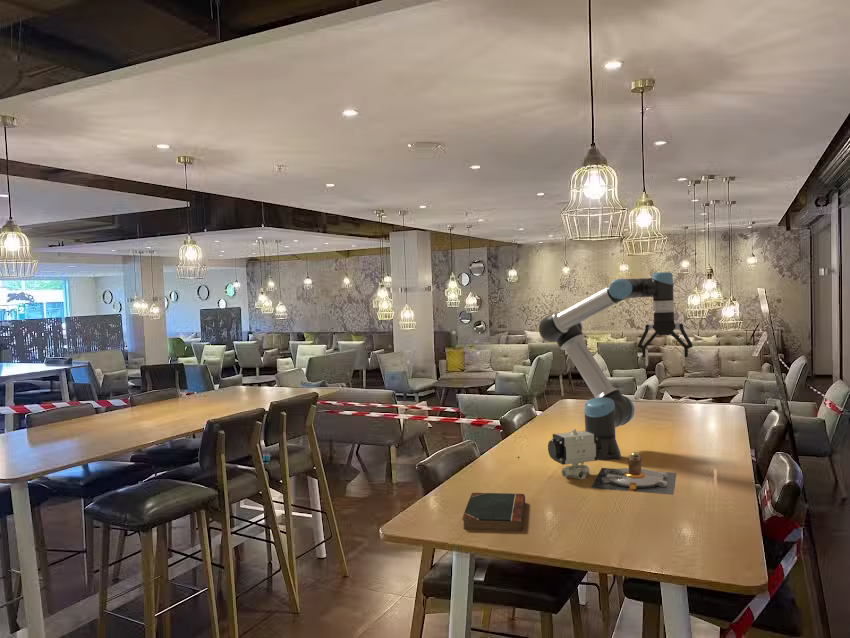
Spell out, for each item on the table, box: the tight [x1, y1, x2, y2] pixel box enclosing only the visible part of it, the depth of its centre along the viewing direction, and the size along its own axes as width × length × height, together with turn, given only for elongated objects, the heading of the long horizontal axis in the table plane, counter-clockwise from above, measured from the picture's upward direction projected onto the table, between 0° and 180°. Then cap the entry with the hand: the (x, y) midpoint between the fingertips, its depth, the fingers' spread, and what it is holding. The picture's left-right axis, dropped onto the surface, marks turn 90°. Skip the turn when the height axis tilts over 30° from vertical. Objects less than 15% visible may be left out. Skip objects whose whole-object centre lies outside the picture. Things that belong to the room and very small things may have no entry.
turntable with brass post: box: [602, 451, 667, 490], centre depth 222 cm, size 21×23×8 cm
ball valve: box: [547, 428, 602, 480], centre depth 230 cm, size 18×8×18 cm, turn 105°
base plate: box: [590, 467, 677, 496], centre depth 222 cm, size 26×26×1 cm
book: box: [461, 492, 526, 531], centre depth 196 cm, size 17×4×25 cm
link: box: [628, 454, 642, 475], centre depth 224 cm, size 4×7×5 cm, turn 157°
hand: (665, 365), depth 251 cm, fingers open, 13 cm apart
